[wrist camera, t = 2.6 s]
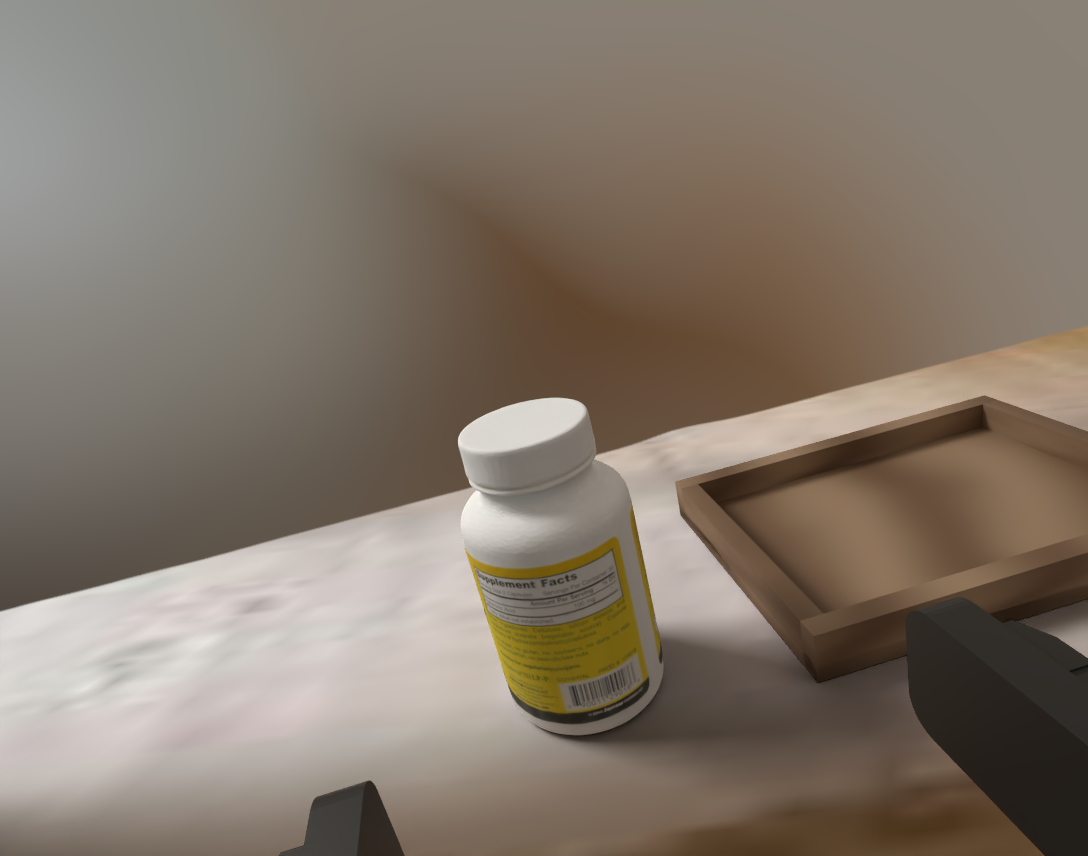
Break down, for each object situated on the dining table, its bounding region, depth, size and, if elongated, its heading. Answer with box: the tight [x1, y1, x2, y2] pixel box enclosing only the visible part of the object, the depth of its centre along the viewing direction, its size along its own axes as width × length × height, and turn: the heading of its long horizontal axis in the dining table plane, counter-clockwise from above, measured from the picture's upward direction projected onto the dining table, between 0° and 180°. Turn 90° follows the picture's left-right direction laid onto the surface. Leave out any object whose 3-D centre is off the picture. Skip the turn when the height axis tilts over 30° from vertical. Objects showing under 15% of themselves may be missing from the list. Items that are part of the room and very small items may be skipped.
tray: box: [675, 396, 1088, 683], centre depth 27 cm, size 16×12×2 cm
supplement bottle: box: [458, 398, 664, 735], centre depth 22 cm, size 5×5×10 cm
